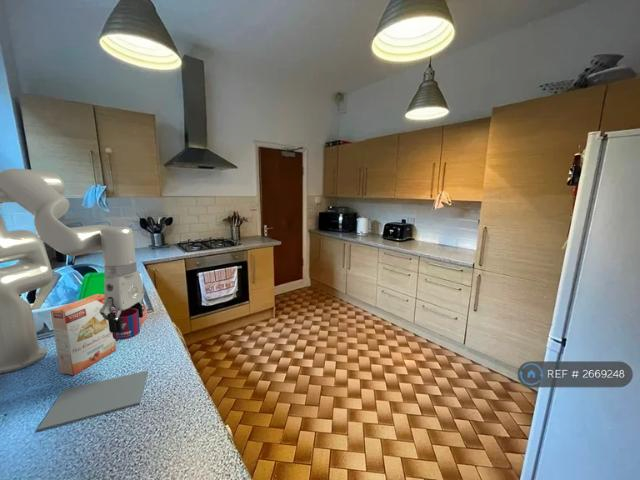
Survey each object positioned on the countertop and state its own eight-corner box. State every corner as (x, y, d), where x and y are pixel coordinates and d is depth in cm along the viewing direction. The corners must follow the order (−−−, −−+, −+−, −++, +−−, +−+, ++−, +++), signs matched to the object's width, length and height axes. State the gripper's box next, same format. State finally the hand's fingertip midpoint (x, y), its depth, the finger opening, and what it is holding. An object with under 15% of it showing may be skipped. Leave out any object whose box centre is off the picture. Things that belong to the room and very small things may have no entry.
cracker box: (74, 376, 80) (64, 312, 77) (59, 373, 81) (48, 309, 78) (118, 350, 94) (110, 294, 90) (104, 348, 95) (96, 292, 91)
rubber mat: (37, 431, 62) (37, 429, 62) (64, 391, 74) (63, 389, 74) (139, 404, 70) (139, 402, 70) (148, 372, 83) (147, 370, 82)
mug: (109, 341, 76) (107, 319, 74) (119, 325, 85) (117, 305, 83) (137, 337, 78) (135, 315, 77) (143, 322, 87) (142, 302, 86)
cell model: (100, 350, 93) (96, 320, 91) (92, 330, 107) (88, 303, 105) (155, 333, 105) (152, 306, 103) (141, 316, 119) (139, 292, 117)
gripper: (110, 278, 69) (118, 340, 72) (152, 261, 86) (157, 311, 89) (81, 278, 69) (90, 339, 72) (129, 261, 86) (134, 311, 89)
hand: (127, 324), depth 80 cm, fingers closed on mug, 8 cm apart
